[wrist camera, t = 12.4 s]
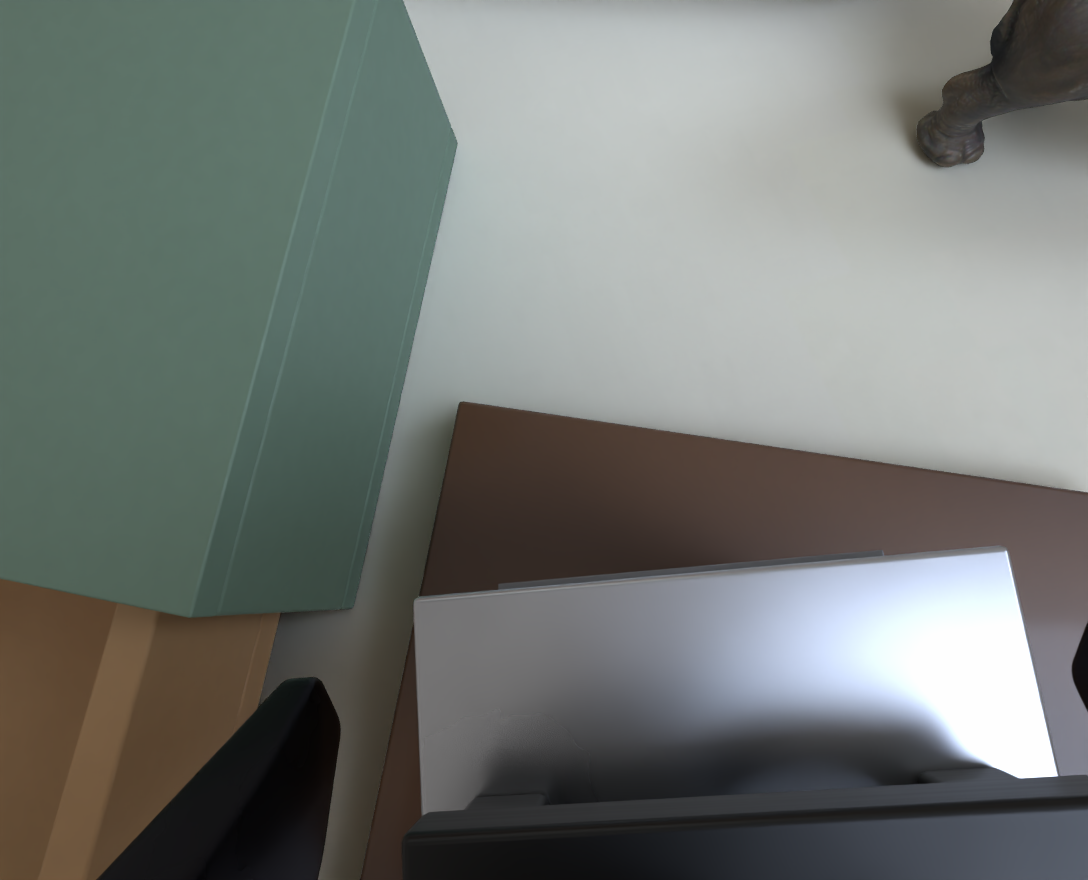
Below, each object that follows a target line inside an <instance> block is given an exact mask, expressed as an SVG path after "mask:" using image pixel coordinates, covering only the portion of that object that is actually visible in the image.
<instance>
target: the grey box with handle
mask: <svg viewBox="0 0 1088 880" xmlns="http://www.w3.org/2000/svg"><path fill="white" fill-rule="evenodd" d="M498 589H499V590H489V591H477V592H466V593H454V594H443V595H432V596H420V597H417V598H416V599H414V602H413V616H414V641H415V665H416V689H417V714H418V738H419V762H420V787H421V811H422V817H421V818H420V819H419V820H418V821H417V822H416V823H415V824H414V825H413V826H412V827H411V828H410V829H409V831H408V832H407V833H406V834H405V835H404V837H403V840H402V843H401V847H402V875H403V880H1088V775H1068V776H1060V774H1059V769H1058V765H1057V760H1056V756H1055V752H1054V747H1053V743H1052V738H1051V734H1050V730H1049V725H1048V721H1047V716H1046V712H1045V708H1044V703H1043V699H1042V694H1041V690H1040V686H1039V681H1038V677H1037V672H1036V668H1035V664H1034V659H1033V655H1032V650H1031V646H1030V642H1029V637H1028V633H1027V628H1026V624H1025V620H1024V615H1023V611H1022V607H1021V602H1020V598H1019V593H1018V589H1017V585H1016V580H1015V576H1014V571H1013V567H1012V563H1011V558H1010V554H1009V551H1008V549H1007V548H1006V547H1003V546H990V547H978V548H967V549H956V550H944V551H933V552H921V553H910V554H899V555H887V556H884V553H883V550H875V551H864V552H853V553H841V554H830V555H819V556H808V557H796V558H785V559H774V560H762V561H751V562H740V563H729V564H717V565H706V566H695V567H683V568H672V569H661V570H650V571H638V572H627V573H616V574H604V575H593V576H582V577H571V578H559V579H548V580H537V581H525V582H514V583H503V584H498Z"/></svg>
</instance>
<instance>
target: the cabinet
mask: <svg viewBox="0 0 1088 880" xmlns="http://www.w3.org/2000/svg"><path fill="white" fill-rule="evenodd" d="M456 148H457V140H456V137H455V135H454V132H453V130H452V128H451V125H450V122H449V119H448V117H447V114H446V112H445V109H444V106H443V104H442V101H441V99H440V96H439V93H438V91H437V88H436V86H435V83H434V80H433V78H432V75H431V72H430V70H429V67H428V65H427V62H426V59H425V57H424V54H423V52H422V49H421V46H420V44H419V41H418V39H417V36H416V33H415V31H414V28H413V26H412V23H411V20H410V18H409V15H408V13H407V10H406V7H405V5H404V2H403V0H0V579H4V580H9V581H13V582H18V583H23V584H28V585H33V586H37V587H42V588H47V589H52V590H57V591H62V592H66V593H71V594H76V595H81V596H86V597H91V598H95V599H100V600H105V601H110V602H115V603H120V604H124V605H129V606H134V607H139V608H144V609H149V610H153V611H158V612H163V613H168V614H173V615H178V616H182V617H187V618H196V617H213V616H224V615H243V614H263V613H282V612H301V611H321V610H338V609H340V610H341V609H352V608H353V606H354V602H355V598H356V593H357V589H358V584H359V580H360V575H361V571H362V566H363V562H364V558H365V553H366V549H367V544H368V540H369V535H370V531H371V526H372V522H373V517H374V513H375V509H376V504H377V500H378V495H379V491H380V486H381V482H382V477H383V473H384V468H385V464H386V460H387V455H388V451H389V446H390V442H391V437H392V433H393V428H394V424H395V419H396V415H397V411H398V406H399V402H400V397H401V393H402V388H403V384H404V379H405V375H406V371H407V366H408V362H409V357H410V353H411V348H412V344H413V339H414V335H415V330H416V326H417V322H418V317H419V313H420V308H421V304H422V299H423V295H424V290H425V286H426V281H427V277H428V273H429V268H430V264H431V259H432V255H433V250H434V246H435V241H436V237H437V232H438V228H439V224H440V219H441V215H442V210H443V206H444V201H445V197H446V192H447V188H448V183H449V179H450V175H451V170H452V166H453V161H454V157H455V152H456Z"/></svg>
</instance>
